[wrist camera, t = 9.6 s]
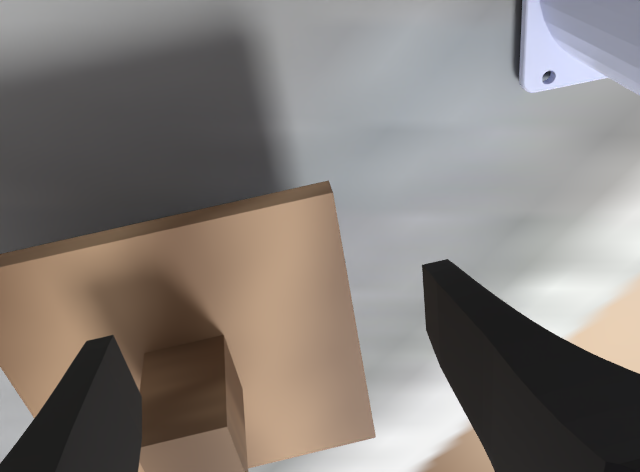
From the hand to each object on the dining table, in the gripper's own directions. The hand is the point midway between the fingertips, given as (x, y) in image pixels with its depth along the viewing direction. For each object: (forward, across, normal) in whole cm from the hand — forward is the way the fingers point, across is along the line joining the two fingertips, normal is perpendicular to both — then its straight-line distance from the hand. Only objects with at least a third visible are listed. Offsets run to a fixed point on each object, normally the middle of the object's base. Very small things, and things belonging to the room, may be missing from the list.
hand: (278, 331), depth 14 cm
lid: (+6, +4, +6) cm, 9 cm away
